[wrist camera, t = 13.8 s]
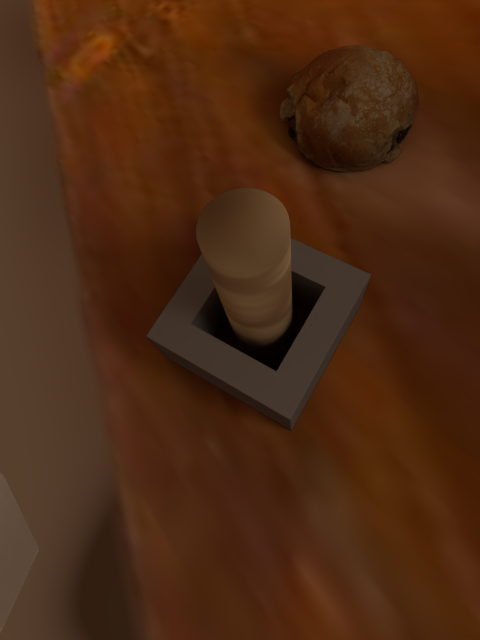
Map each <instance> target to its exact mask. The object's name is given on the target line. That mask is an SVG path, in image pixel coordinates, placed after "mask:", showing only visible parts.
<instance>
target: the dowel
mask: <svg viewBox="0 0 480 640" xmlns="http://www.w3.org/2000/svg"><path fill="white" fill-rule="evenodd" d="M196 238H197V242H198V245H199V248H200V250H201V253H202V255H203V258H204V260H205V263H206V265H207V267H208V270H209V272H210V275H211V277H212V280H213V282H214V285H215V287H216V290H217V292H218V295H219V297H220V300H221V302H222V305H223V307H224V310H225V312H226V315H227V317H228V320H229V322H230V325H231V327H232V330H233V332H234V335H235V337H236V340H237V342H238V345H239V347H240V348H241V350H242V351H243V352H244V353H245V354H246V355H248V356H250V357H251V358H253V359H255V360H259V361H269V360H273V359H276V358H278V357H280V356H281V355H283V354H284V353H285V352H286V351H287V350H288V348H289V347H290V344H291V342H292V338H293V315H292V275H291V235H290V219H289V215H288V213H287V210H286V209H285V207H284V205H283V204H282V203H281V202H280V201H279V200H278V199H277V198H276V197H275V196H273V195H272V194H270V193H268V192H266V191H263V190H260V189H255V188H237V189H233V190H229V191H227V192H224V193H222V194H220V195H218V196H217V197H215V198H214V199H213V200H211V201H210V202H209V203H208V204H207V205H206V207H205V208H204V209H203V211H202V212H201V214H200V216H199V218H198V222H197V226H196Z"/></svg>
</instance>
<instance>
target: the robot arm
mask: <svg viewBox="0 0 480 640" xmlns="http://www.w3.org/2000/svg"><path fill="white" fill-rule="evenodd" d="M38 552H39V547H38V545H37V543H36V541H35V539H34V537H33V535H32V533H31V531H30V529H29V527H28V525H27V523H26V521H25V519H24V516H23V514H22V513H21V511H20V509H19V506H18V504H17V502H16V500H15V498H14V496H13V494H12V492H11V490H10V488H9V486H8V484H7V482H6V480H5V478H4V476H3V474H2V473H0V633H1V631H2V629H3V627H4V624H5V622H6V620H7V618H8V616H9V614H10V612H11V610H12V607H13V605H14V603H15V601H16V599H17V597H18V595H19V592H20V590H21V588H22V586H23V584H24V582H25V580H26V577H27V575H28V573H29V571H30V569H31V567H32V565H33V562H34V560H35V558H36V556H37V554H38Z"/></svg>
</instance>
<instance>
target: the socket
mask: <svg viewBox="0 0 480 640" xmlns="http://www.w3.org/2000/svg"><path fill="white" fill-rule="evenodd" d="M291 275H292V302H294V303H296V304H298V305H300V306H302V307H304V308H306V309H308V310H310V311H311V313H310V315H309V317H308V318H307V320H306V322H305V323H304V325H303V327H302V329H301V330H300V332H299V334H298V335H297V337H296V339H295V341H294V342H293V344H292V346H291V347H290V349H289V351H288V353H287V354H286V356H285V358H284V359H283V361H282V363H281V365H280V366H279V368H278V370H277V371H275V370H273V369H271V368H269V367H268V366H266V365H264V364H262V363H260V362H259V361H257V360H255V359H253V358H251V357H250V356H248V355H246V354H244V353H242V352H240V351H239V350H237V349H235V348H233V347H231V346H230V345H228V344H226V343H224V342H222V341H221V340H219V339H217V338H215V337H213V336H214V334H215V333H216V331H217V330H218V328H219V326H220V325H221V323H222V322H223V320H224V318H225V317H226V312H225V310H224V307H223V305H222V302H221V300H220V297H219V295H218V292H217V290H216V287H215V285H214V282H213V280H212V277H211V275H210V272H209V270H208V267H207V265H206V263H205V260H204V258H203V255H202V254H201V256H200V257H199V259H198V260H197V262H196V263H195V265H194V266H193V268H192V269H191V270H190V272H189V273H188V275H187V276H186V278H185V279H184V281H183V282H182V284H181V285H180V287H179V288H178V290H177V291H176V293H175V294H174V296H173V297H172V299H171V300H170V301H169V303H168V304H167V306H166V307H165V309H164V310H163V312H162V313H161V315H160V316H159V318H158V319H157V321H156V322H155V324H154V325H153V327H152V328H151V330H150V331H149V332H148V334H147V335H146V337H147V338H148V339H149V340H150V341H151V342H152V343H153V344H154V345H155V346H156V347H157V348H158V349H159V350H160V351H161V352H162V353H163V354H164V355H165V356H166V357H167V358H168V359H170V360H172V361H173V362H175V363H177V364H179V365H180V366H182V367H184V368H185V369H187V370H189V371H191V372H192V373H194V374H196V375H197V376H199V377H201V378H202V379H204V380H206V381H208V382H209V383H211V384H213V385H214V386H216V387H218V388H219V389H221V390H223V391H225V392H226V393H228V394H230V395H231V396H233V397H235V398H237V399H238V400H240V401H242V402H243V403H245V404H247V405H248V406H250V407H252V408H254V409H255V410H257V411H259V412H260V413H262V414H264V415H265V416H267V417H269V418H271V419H272V420H274V421H276V422H277V423H279V424H281V425H283V426H284V427H286V428H288V429H289V430H291V431H292V429H293V427H294V425H295V423H296V422H297V420H298V418H299V416H300V414H301V412H302V411H303V409H304V407H305V405H306V403H307V402H308V400H309V398H310V396H311V394H312V393H313V391H314V389H315V387H316V385H317V383H318V382H319V380H320V378H321V376H322V374H323V373H324V371H325V369H326V367H327V365H328V364H329V362H330V360H331V358H332V356H333V355H334V353H335V351H336V349H337V347H338V345H339V344H340V342H341V340H342V338H343V336H344V335H345V333H346V331H347V329H348V327H349V326H350V324H351V322H352V320H353V318H354V316H355V315H356V313H357V311H358V309H359V307H360V306H361V303H362V300H363V297H364V294H365V291H366V288H367V285H368V282H369V279H370V276H371V274H369V273H367V272H365V271H362V270H360V269H358V268H356V267H354V266H352V265H349V264H347V263H345V262H343V261H341V260H338V259H336V258H334V257H332V256H330V255H327V254H325V253H323V252H321V251H319V250H316V249H314V248H312V247H310V246H308V245H305V244H303V243H301V242H299V241H297V240H294V239H292V238H291Z"/></svg>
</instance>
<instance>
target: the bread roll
mask: <svg viewBox="0 0 480 640" xmlns="http://www.w3.org/2000/svg"><path fill="white" fill-rule="evenodd" d="M286 92H287V95H288V98H287V99H285V100H284V101H282V103H281V106H280V114H279V116H280V117H281V121H282V122H283V121H284V120H289V121H290V125H291V126H290V127H289V131H288V135H289V136H290V137H291V138H293V139H294V140H295V141H296V142H297V148H298V150H299V151H300V152H301V153H302V154H304V155H305V156H306V158H307V159H310V160H311V161H313V162H314V163H316V164H317V165H319V166H320V167H322V168H324V169H327V170H328V169H331V170H335V171H339V172H343V171H361V170H367V169H371V168H373V167H375V166H377V165H379V164H380V163H381V162H387V163H390V162H391V161H393V160H394V159H395V158H397V157H398V156H399V154H400V153H401V151H402V149H400V148H398V147H399V146H400V145H401V143H402V141H403V140H404V138H405V136H406V135H407V133H408V131H409V130H410V129H411V127H412V125H413V123H414V120H415V117H416V114H417V110H418V89H417V85H416V83H415V81H414V79H413V77H412V75H411V73H410V71H409V70H408V69H407V68H406V66H405V65H404V64H403V63H402V62H401V61H400V60H398V59H397V58H394V57H393V55H392V54H391V52H388V51H383V50H376V49H373V48H371V47H366V46H356V45H355V46H346V47H341V48H338V49H335V50H329V51H328V52H325V53H323V54H321V55H320V56H318V57H317V58H316V59H314V60H313V61H312V62H311V63H310V64H309V65H308V66H307V67H306V68H304V69H303V70H302V71H301V72H298V73H296V74H295V75H294V76H293V79H292V81H291V83H290V85H289V87H288V89H287V90H286Z"/></svg>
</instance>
